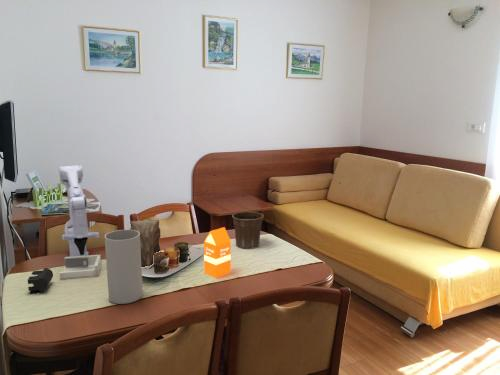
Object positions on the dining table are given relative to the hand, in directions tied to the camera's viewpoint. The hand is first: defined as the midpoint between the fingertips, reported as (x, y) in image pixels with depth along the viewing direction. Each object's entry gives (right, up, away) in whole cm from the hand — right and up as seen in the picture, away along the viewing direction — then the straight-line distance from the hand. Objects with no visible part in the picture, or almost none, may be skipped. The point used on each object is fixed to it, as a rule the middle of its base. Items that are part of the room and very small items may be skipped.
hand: (82, 254), depth 180 cm
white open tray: (-1, -8, +2) cm, 8 cm away
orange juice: (+58, -9, +3) cm, 59 cm away
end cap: (-11, -12, -14) cm, 21 cm away
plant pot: (+71, -1, +38) cm, 81 cm away
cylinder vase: (+25, -13, -20) cm, 35 cm away
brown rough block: (+24, -7, +12) cm, 28 cm away
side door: (-4, -6, +5) cm, 9 cm away
